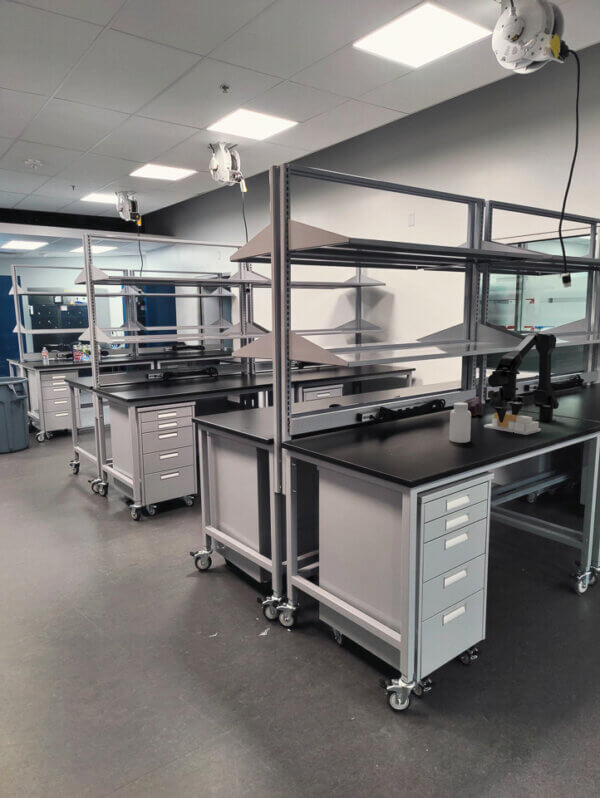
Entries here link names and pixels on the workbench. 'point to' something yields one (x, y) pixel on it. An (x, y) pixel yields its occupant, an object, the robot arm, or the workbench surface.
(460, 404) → the pill bottle
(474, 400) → the rock
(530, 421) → the two-tone rectangular block
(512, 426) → the board
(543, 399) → the robot arm
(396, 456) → the workbench surface
